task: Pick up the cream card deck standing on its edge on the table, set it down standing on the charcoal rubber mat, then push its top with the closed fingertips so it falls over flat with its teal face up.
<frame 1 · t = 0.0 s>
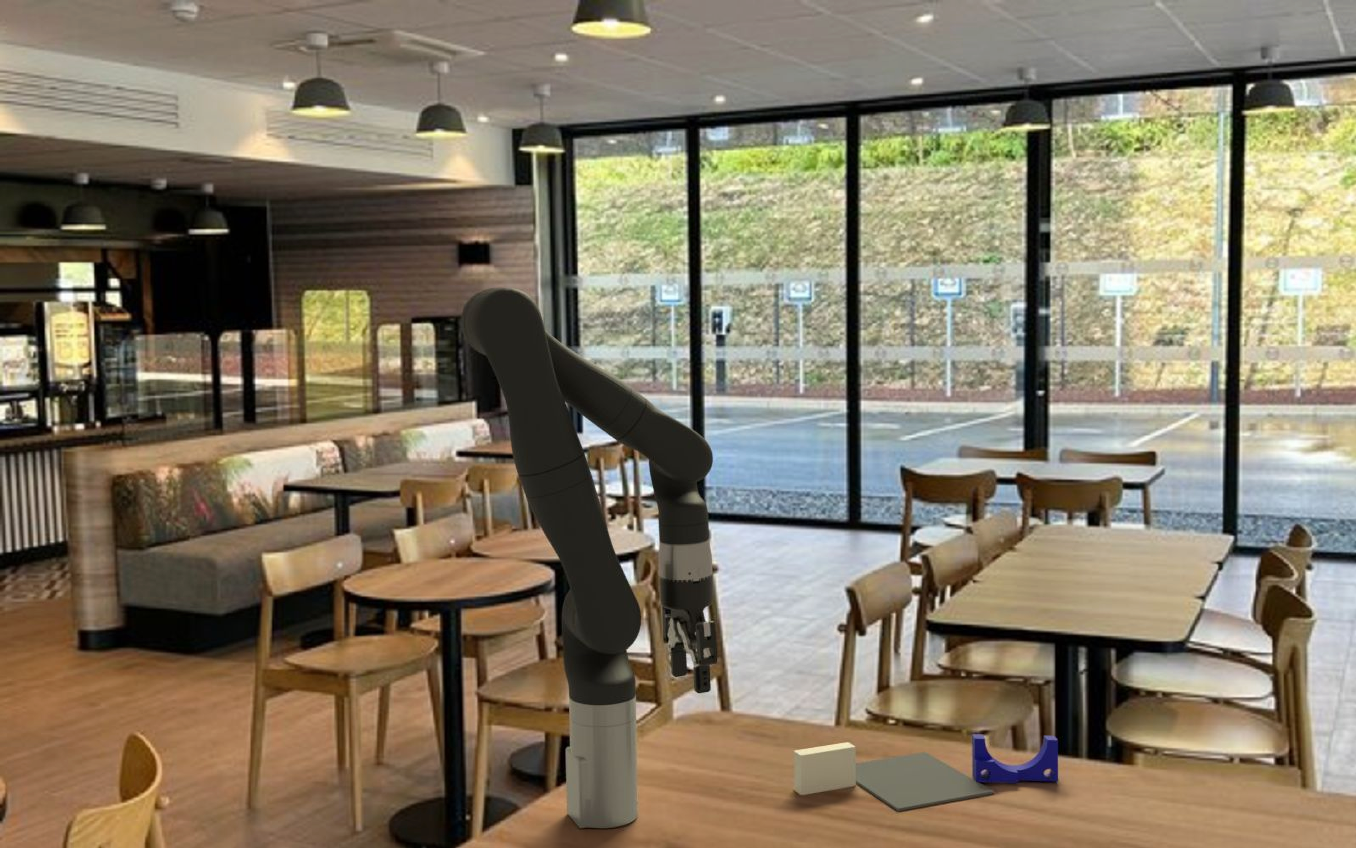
hand: (690, 684, 187), 17 cm above the table, tool pointing down, fingers open, 8 cm apart
blue u-shaped bracket: (1015, 780, 195), on the table, touching mat
deck: (824, 788, 193), on the table
mat: (912, 781, 195), on the table
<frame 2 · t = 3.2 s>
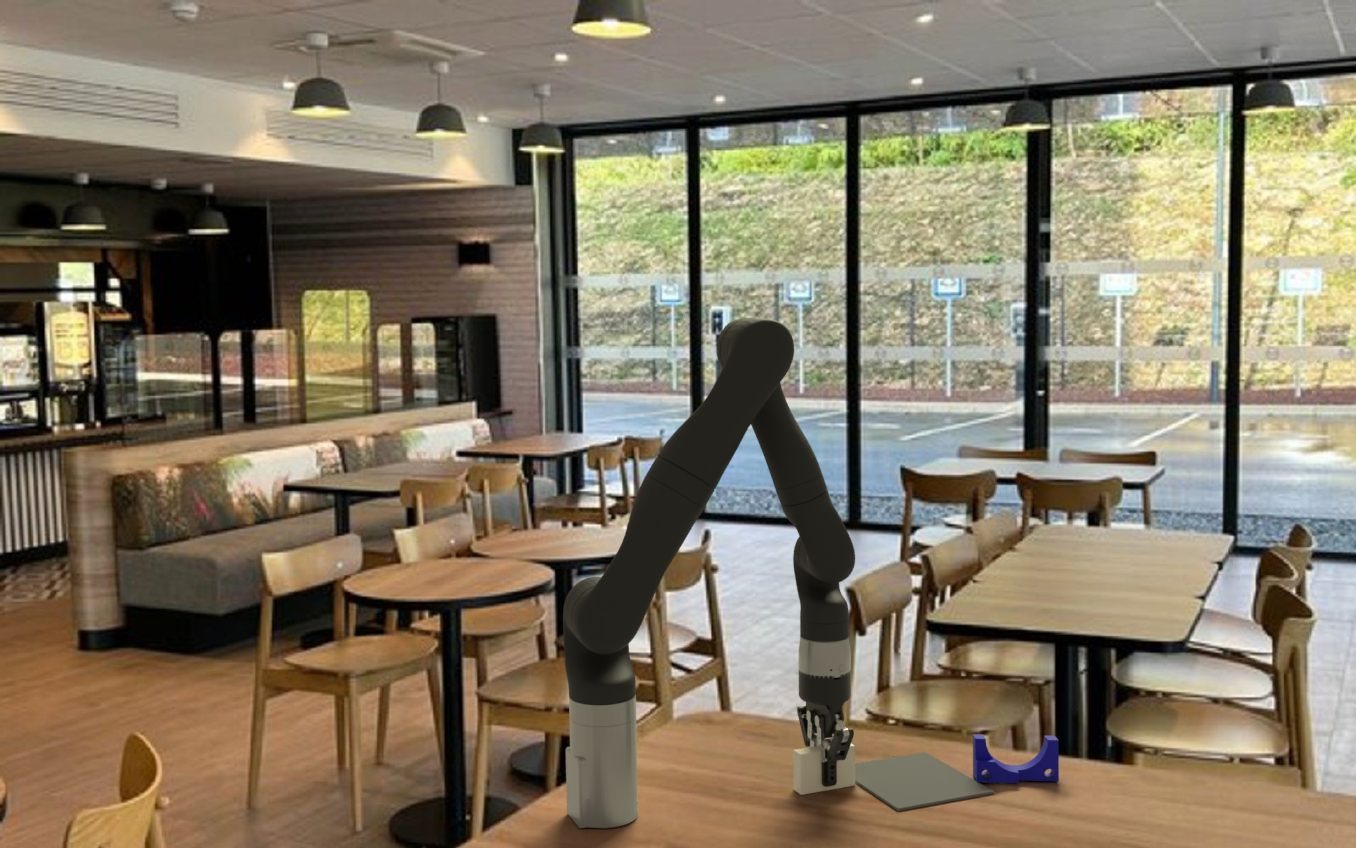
hand: (824, 782, 193), 1 cm above the table, tool pointing down, fingers closed on deck, 2 cm apart
deck: (824, 787, 193), on the table, touching gripper
everything else where it was.
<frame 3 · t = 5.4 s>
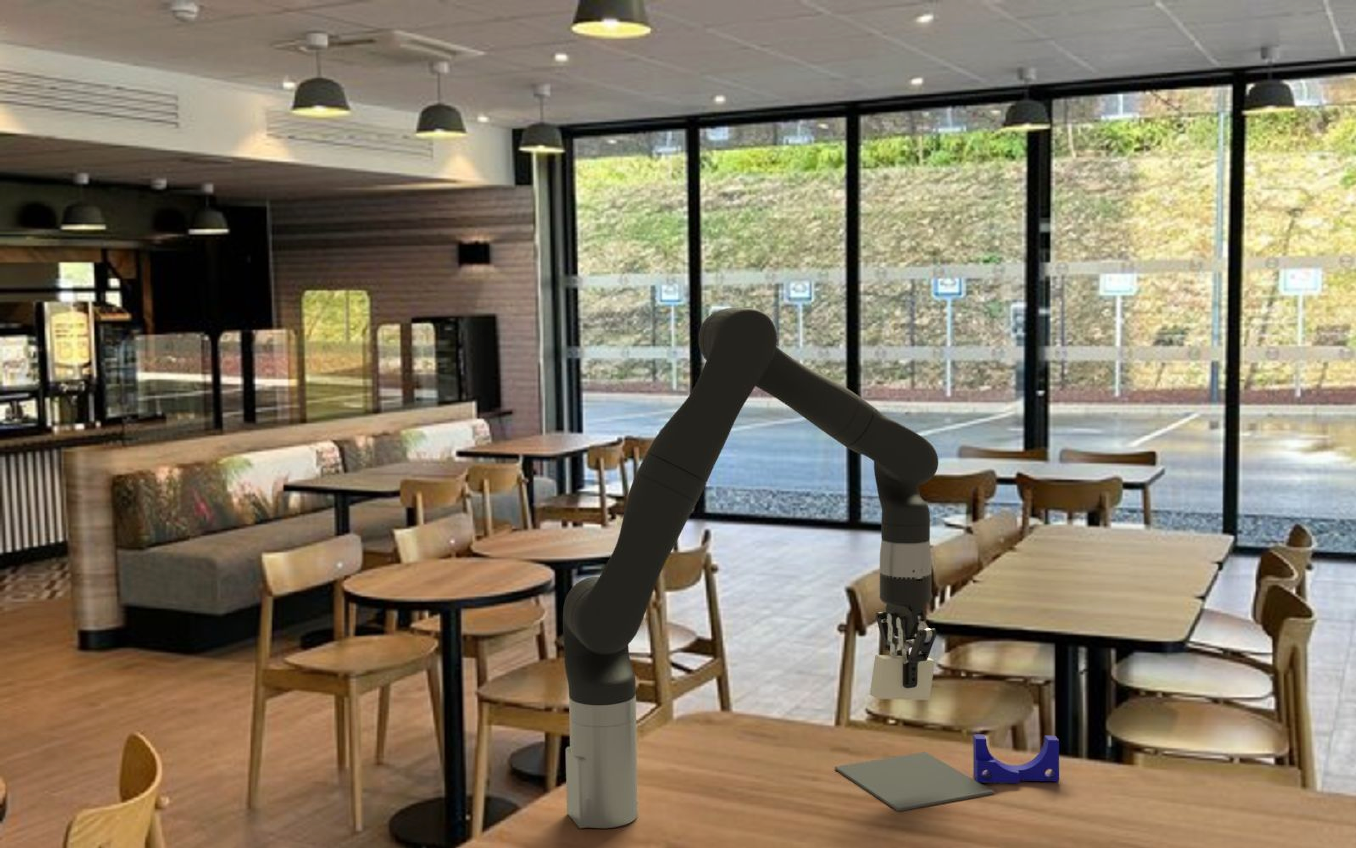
hand: (905, 684, 196), 14 cm above the table, tool pointing down, fingers closed on deck
deck: (899, 697, 196), point 12 cm above the table, tilted 9°, touching gripper
everything else where it was.
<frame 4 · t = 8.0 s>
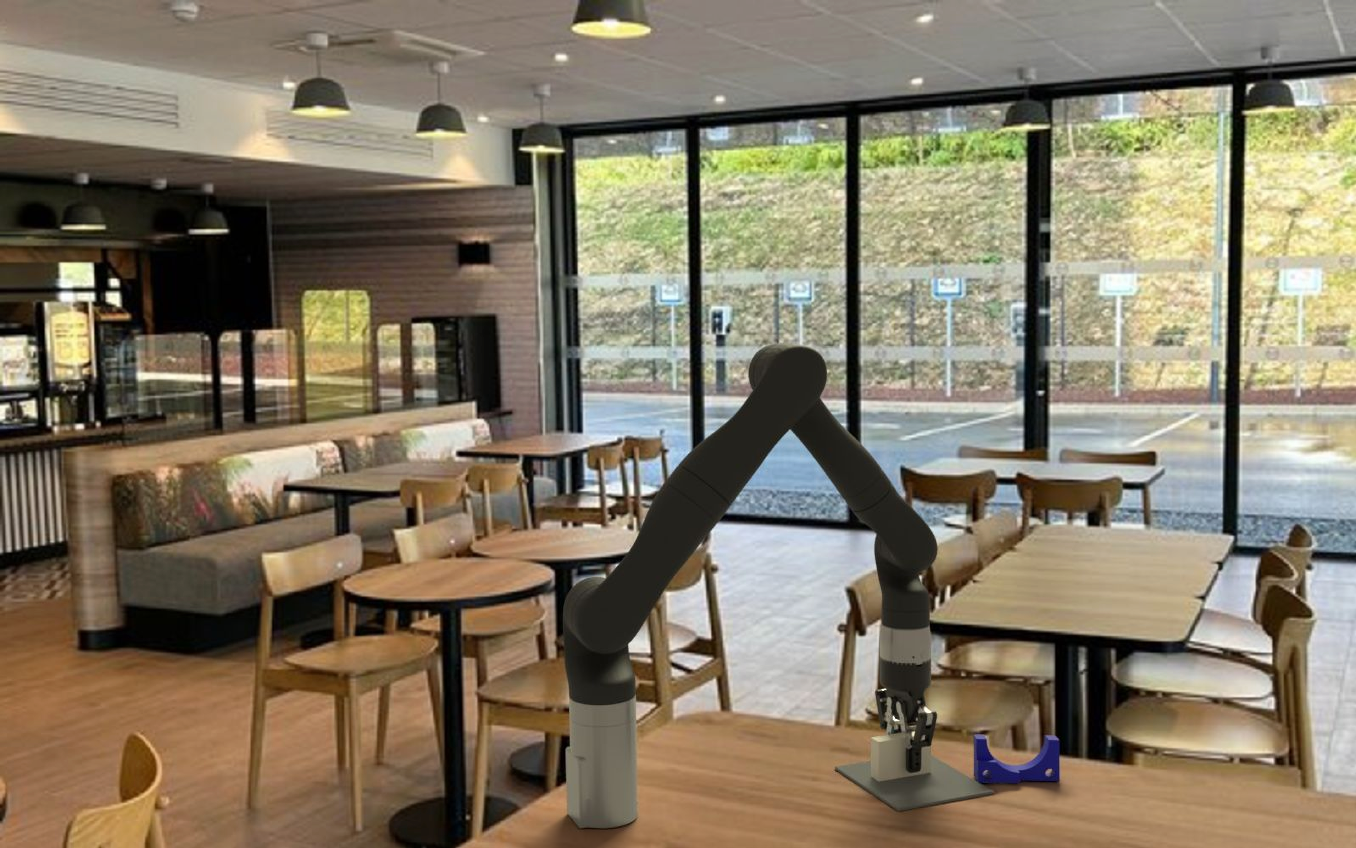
hand: (905, 766, 197), 2 cm above the table, tool pointing down, fingers open, 4 cm apart
deck: (901, 774, 197), resting on mat
everything else where it was.
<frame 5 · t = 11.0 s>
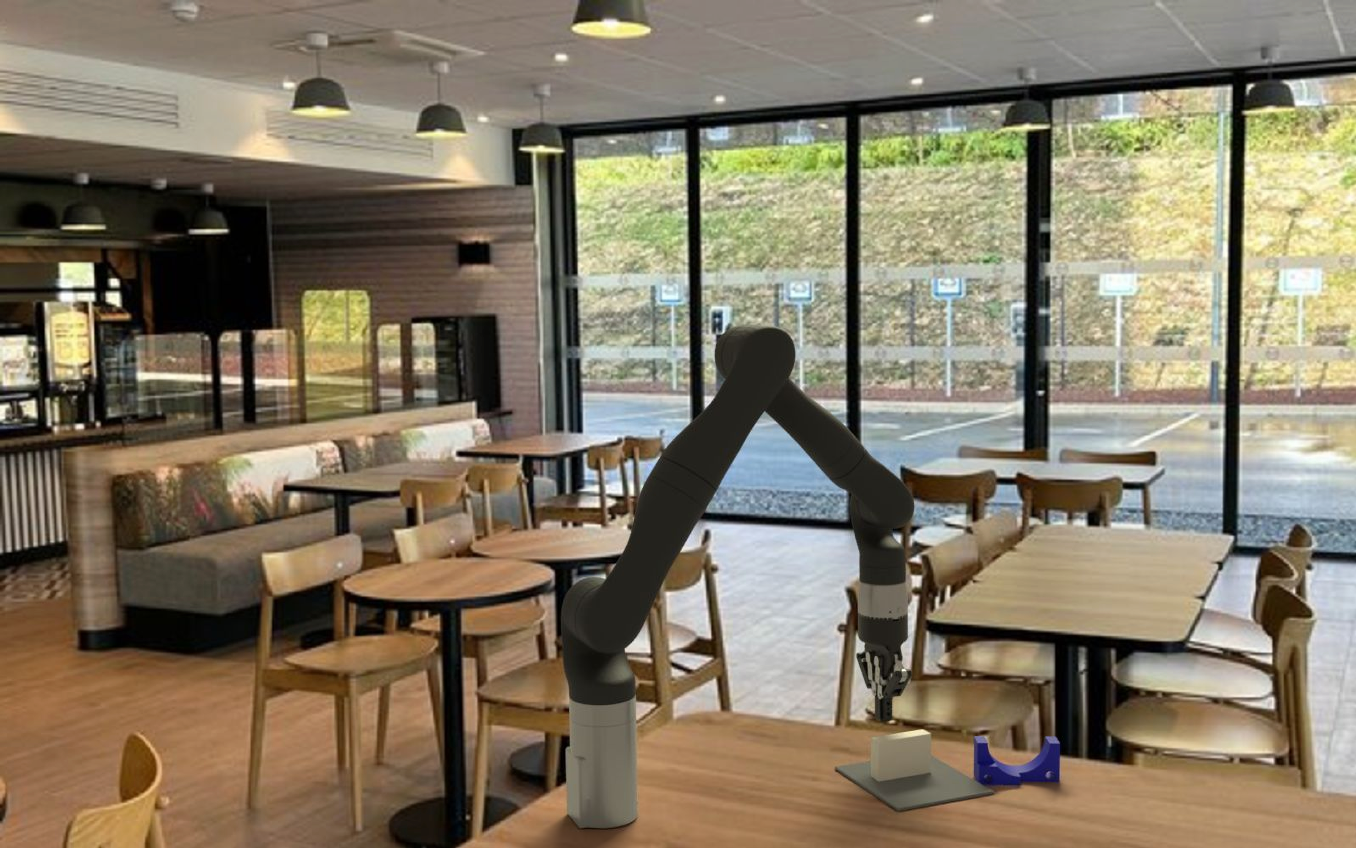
hand: (883, 720, 203), 7 cm above the table, tool pointing down, fingers closed
blue u-shaped bracket: (1017, 782, 195), on the table
everything else where it was.
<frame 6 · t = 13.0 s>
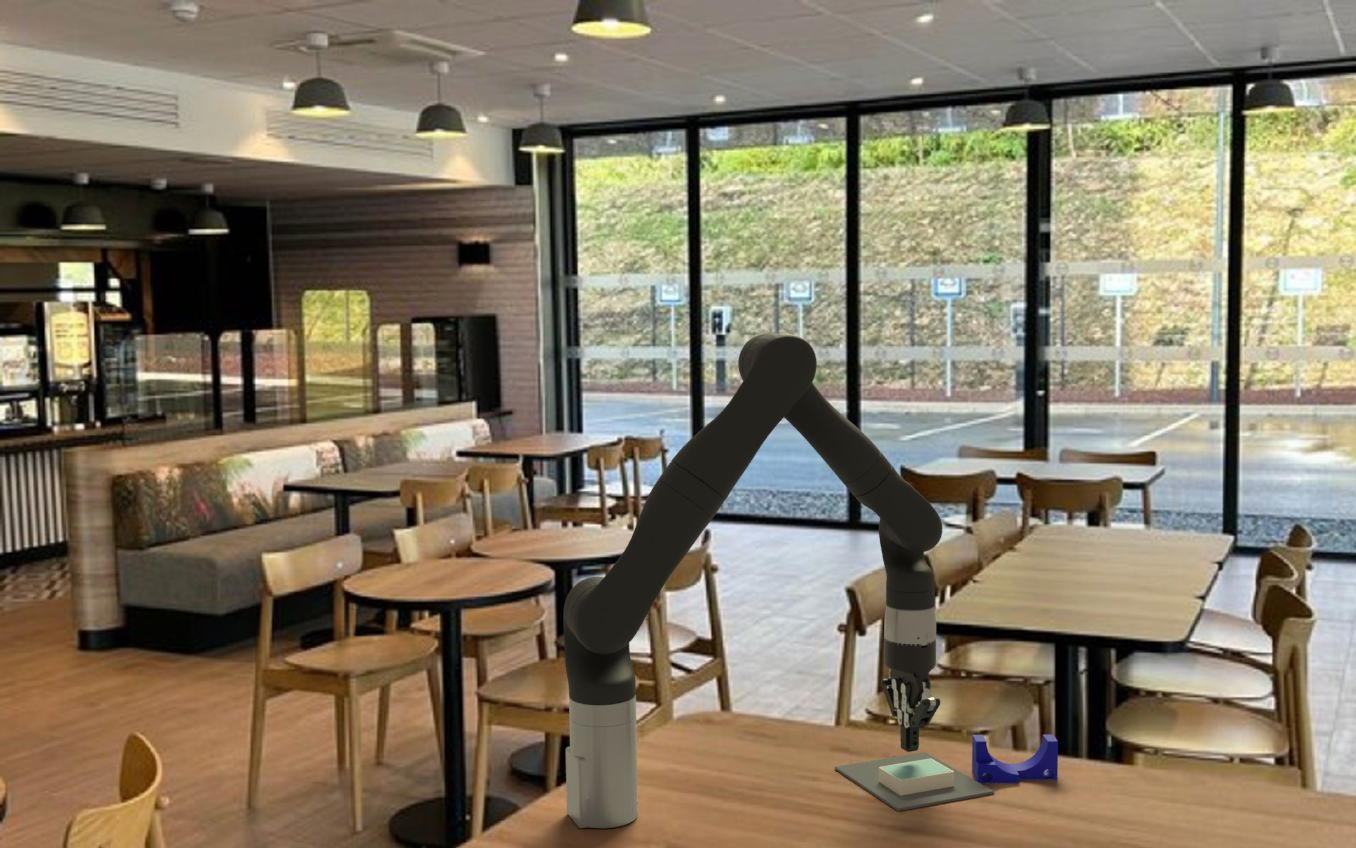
hand: (909, 749, 196), 5 cm above the table, tool pointing down, fingers closed
deck: (905, 770, 196), point 1 cm above the table, tilted 90°, touching mat
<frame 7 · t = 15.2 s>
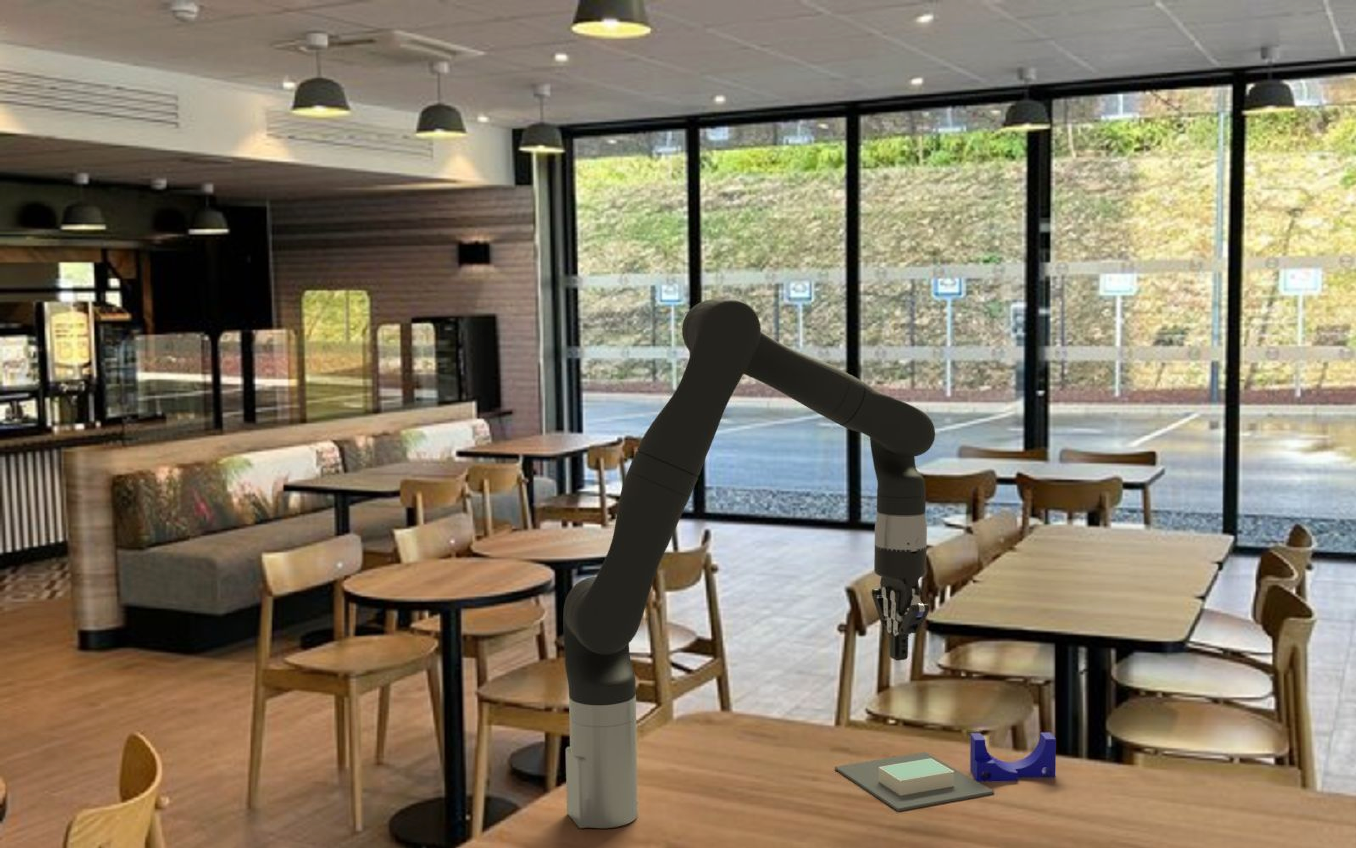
hand: (898, 658, 195), 18 cm above the table, tool pointing down, fingers closed
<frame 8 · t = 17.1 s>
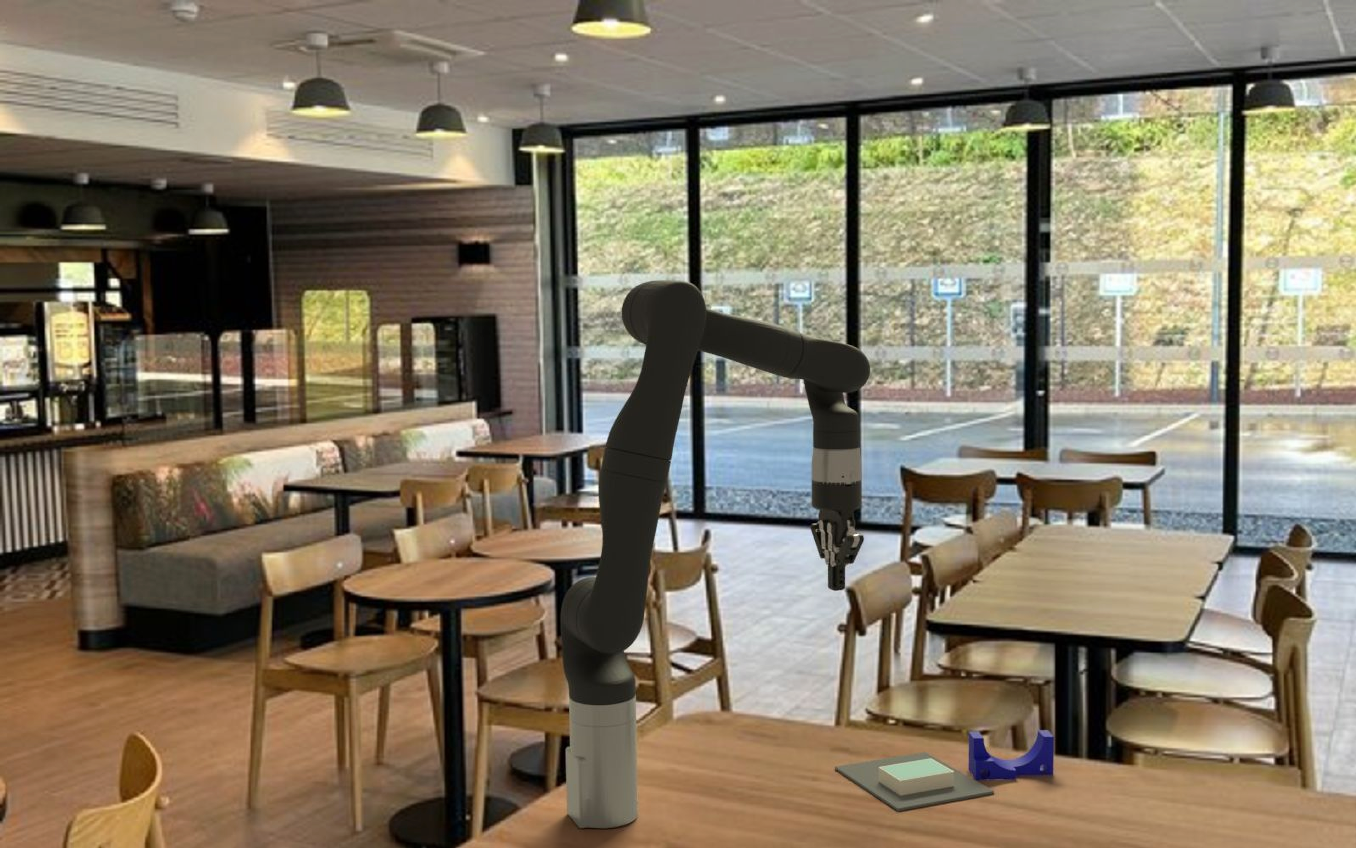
hand: (836, 589, 201), 27 cm above the table, tool pointing down, fingers closed
at the end: deck tilted 90°; deck inside the target area (1.5 cm from its centre), point 1.5 cm above the table; the gripper is holding nothing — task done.
